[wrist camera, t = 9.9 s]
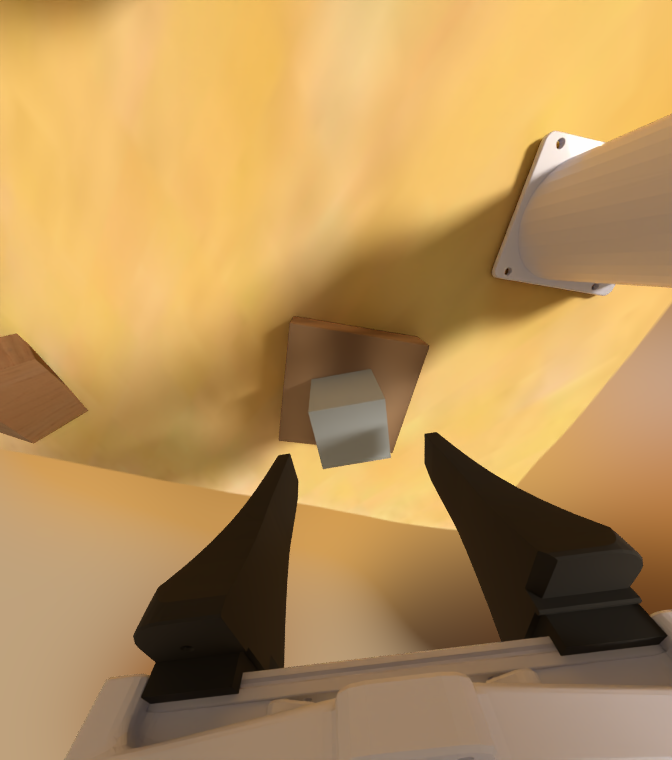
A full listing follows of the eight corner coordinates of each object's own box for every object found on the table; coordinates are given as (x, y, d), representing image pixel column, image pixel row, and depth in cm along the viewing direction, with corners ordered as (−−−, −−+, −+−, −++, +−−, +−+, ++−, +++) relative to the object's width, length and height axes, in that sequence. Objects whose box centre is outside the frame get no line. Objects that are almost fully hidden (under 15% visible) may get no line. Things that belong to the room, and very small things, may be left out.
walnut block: (415, 335, 20) (429, 345, 17) (384, 432, 24) (392, 453, 22) (294, 314, 19) (289, 323, 16) (284, 420, 23) (278, 440, 20)
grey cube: (370, 368, 18) (385, 398, 14) (376, 418, 20) (390, 457, 16) (311, 379, 18) (308, 412, 14) (322, 427, 20) (323, 469, 16)
